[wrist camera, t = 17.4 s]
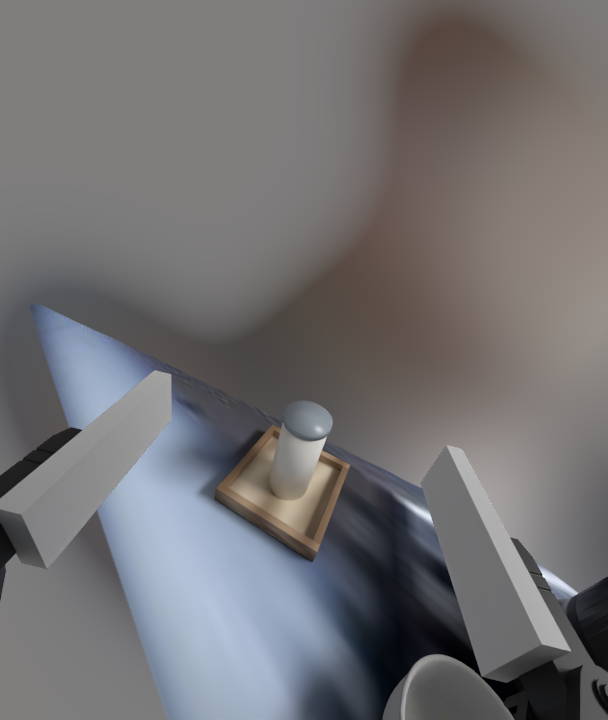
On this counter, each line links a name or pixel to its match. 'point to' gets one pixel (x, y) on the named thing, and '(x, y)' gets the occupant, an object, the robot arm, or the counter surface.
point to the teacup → (444, 693)
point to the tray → (277, 516)
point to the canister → (298, 448)
